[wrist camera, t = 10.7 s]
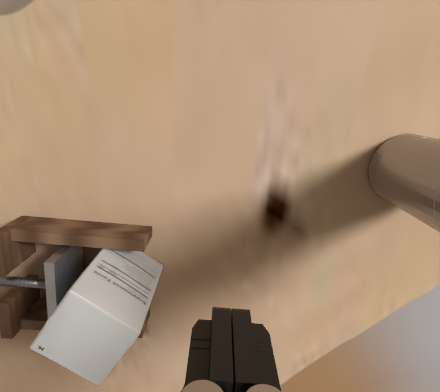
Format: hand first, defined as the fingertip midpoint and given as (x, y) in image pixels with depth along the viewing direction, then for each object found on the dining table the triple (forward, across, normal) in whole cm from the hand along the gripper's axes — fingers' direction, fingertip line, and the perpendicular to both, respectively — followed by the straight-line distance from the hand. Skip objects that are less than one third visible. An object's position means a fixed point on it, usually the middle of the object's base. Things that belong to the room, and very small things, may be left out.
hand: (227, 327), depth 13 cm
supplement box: (+32, +14, +17) cm, 39 cm away
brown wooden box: (+32, +18, +17) cm, 40 cm away
